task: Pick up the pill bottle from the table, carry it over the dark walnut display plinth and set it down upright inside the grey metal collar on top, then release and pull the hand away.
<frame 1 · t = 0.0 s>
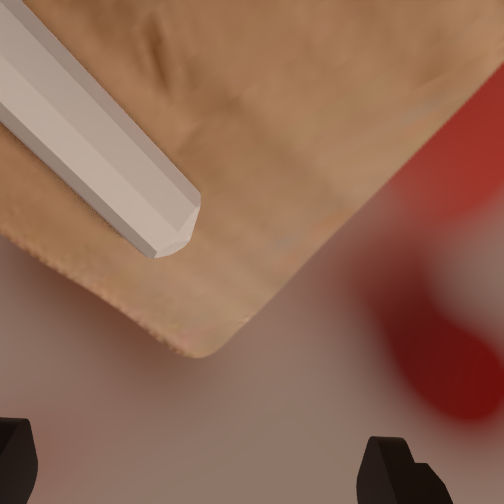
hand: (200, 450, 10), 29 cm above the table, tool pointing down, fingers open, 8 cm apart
crystal: (88, 130, 36), on the table
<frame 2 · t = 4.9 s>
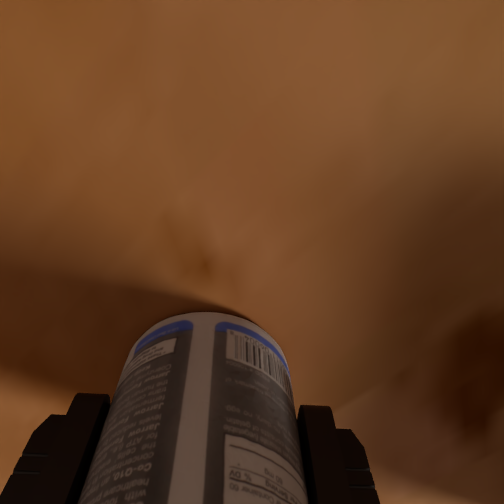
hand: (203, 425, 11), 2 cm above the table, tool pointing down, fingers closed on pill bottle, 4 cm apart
pill bottle: (209, 368, 13), on the table, touching gripper
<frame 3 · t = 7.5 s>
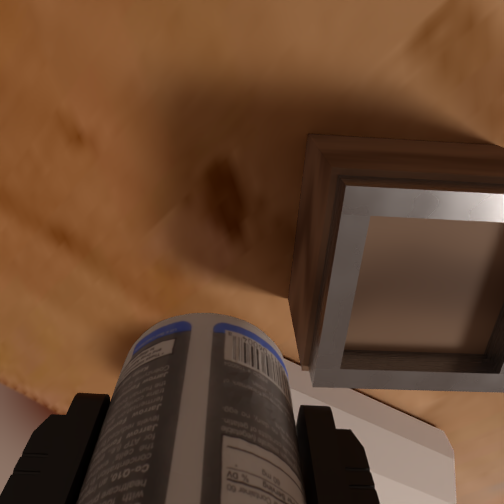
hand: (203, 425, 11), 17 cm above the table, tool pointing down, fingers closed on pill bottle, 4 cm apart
pill bottle: (208, 368, 13), point 15 cm above the table, touching gripper
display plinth: (384, 228, 27), on the table
crystal: (315, 408, 34), on the table
when the fingers open (10 cm above the table, at t = 10.3 s): pill bottle stays where it is, resting on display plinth.
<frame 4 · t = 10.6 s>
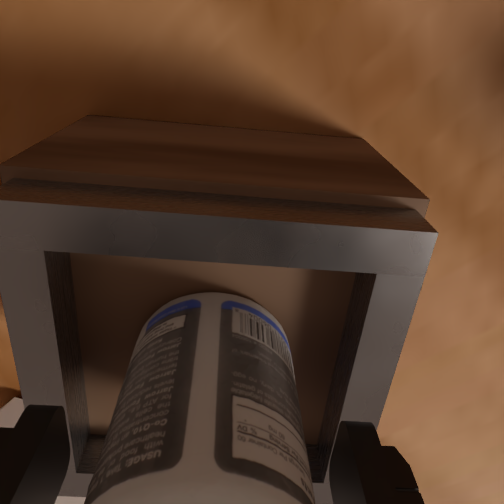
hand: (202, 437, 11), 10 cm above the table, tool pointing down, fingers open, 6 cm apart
pill bottle: (215, 346, 14), point 7 cm above the table, touching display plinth
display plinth: (220, 249, 20), on the table
crystal: (168, 470, 27), on the table
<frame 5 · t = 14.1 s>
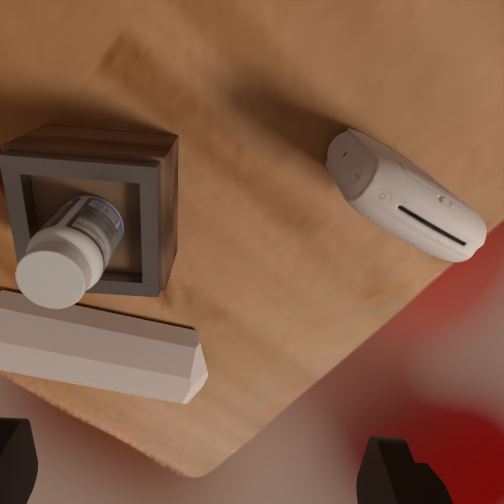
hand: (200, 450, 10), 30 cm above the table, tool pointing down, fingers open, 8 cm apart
pill bottle: (94, 222, 33), point 7 cm above the table, touching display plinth
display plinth: (115, 192, 39), on the table
crystal: (101, 333, 47), on the table
photo printer: (376, 169, 39), on the table
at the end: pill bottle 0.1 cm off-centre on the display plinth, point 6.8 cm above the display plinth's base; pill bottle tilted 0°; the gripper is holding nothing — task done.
